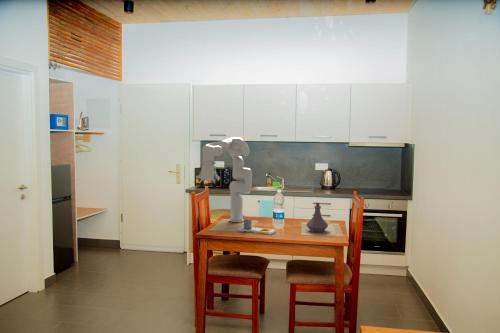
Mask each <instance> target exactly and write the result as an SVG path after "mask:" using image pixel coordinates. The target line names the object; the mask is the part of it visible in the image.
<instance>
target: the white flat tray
mask: <svg viewBox="0 0 500 333" xmlns="http://www.w3.org/2000/svg"><path fill="white" fill-rule="evenodd" d="M236 230H237V231H238V232H244V231H246V233H252V234H259V235H260V234H263V235H270V236H271V235H274V234H276V232H277V229H272V228H270V229H269V228H264V227H263V228H262V227H256V226H255V227H254V226H251V229H244V225H242V226H240V227H238V228H236Z"/></svg>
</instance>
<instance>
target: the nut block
mask: <svg viewBox="0 0 500 333" xmlns="http://www.w3.org/2000/svg"><path fill="white" fill-rule="evenodd" d="M243 219H244V221H243V226H244V229H251V227H252V218H243Z"/></svg>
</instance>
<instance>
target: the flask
mask: <svg viewBox="0 0 500 333" xmlns="http://www.w3.org/2000/svg"><path fill="white" fill-rule="evenodd" d="M313 208H314V214H313V216H312V217H311V219H309V221H308V222H307V223H306V225H305V226H306V227H307V228H308V230H309V231H310V232H312V231H313V232H312V233H324V232H325V231H326V229H327V228H328V227H329V223H327V222H326V220H325V219H324V218H323V217H322V213H321V208H322V206H321V205H320V202H316V203H315V205H314V207H313Z"/></svg>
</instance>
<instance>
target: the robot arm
mask: <svg viewBox="0 0 500 333" xmlns="http://www.w3.org/2000/svg"><path fill="white" fill-rule="evenodd" d="M250 151H251V150H250V147H249V145H248V144H247V142H246V141H245V140H244V139H243V138H242V137H227V138H226V139H223V140H219V141H215V142H211V143H207V144H205V145H203V147H202V165H201V168H200V169H201V170H200V173H199V174H198V175H196V178H197V180H198V182H199V184H200V185H199V186H200V187H199V188H200V189H204V184H205V183H204V181H212V182H213V184H212V188H213V190H215V189H217V183H218V182H219V181H220V179H221V176H219V175H218V174H217V170H216V169H217V168H216V162H215V157H220V156H222V154H223V153H226V152H228V153H229V154H228V155H230V157H231V158H232V161H233V162H232V178H233V179H234V181H231V182H230V183H229V192H230V218H228V222H230V221H231V222H230V223H242V222H243V223H244V219H245V218H244V217H245V214H244V212H243V210H244V208H243V206H244V204H243V199H244V198H243V196H242V194H243V195H248V194H250V193H251V192H252V186H253V185H252V184H253V171H252V169H251V168H249V167H244V166H245V161H244V158H243V157H248V156H249V154H250ZM241 180H242V181H241Z"/></svg>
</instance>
